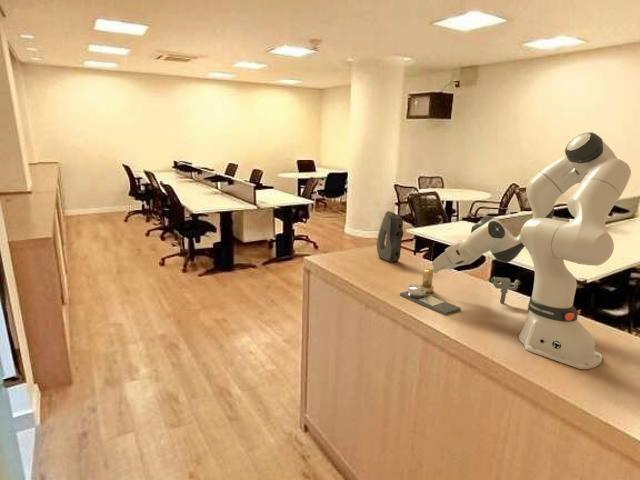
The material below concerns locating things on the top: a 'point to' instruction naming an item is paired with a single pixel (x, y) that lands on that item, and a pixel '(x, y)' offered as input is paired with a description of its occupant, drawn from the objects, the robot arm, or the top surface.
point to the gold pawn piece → (428, 280)
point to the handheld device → (390, 237)
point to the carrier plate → (428, 300)
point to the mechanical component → (504, 286)
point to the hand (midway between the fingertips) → (441, 269)
